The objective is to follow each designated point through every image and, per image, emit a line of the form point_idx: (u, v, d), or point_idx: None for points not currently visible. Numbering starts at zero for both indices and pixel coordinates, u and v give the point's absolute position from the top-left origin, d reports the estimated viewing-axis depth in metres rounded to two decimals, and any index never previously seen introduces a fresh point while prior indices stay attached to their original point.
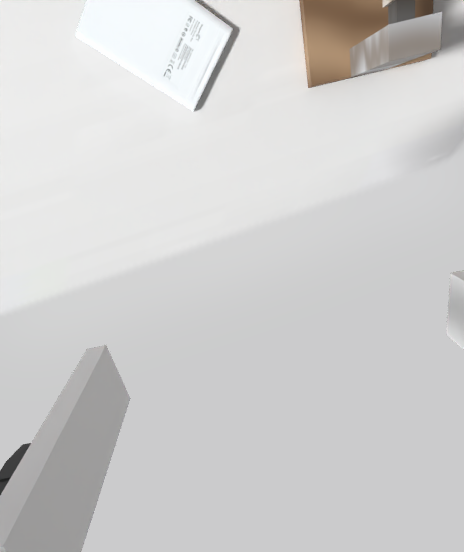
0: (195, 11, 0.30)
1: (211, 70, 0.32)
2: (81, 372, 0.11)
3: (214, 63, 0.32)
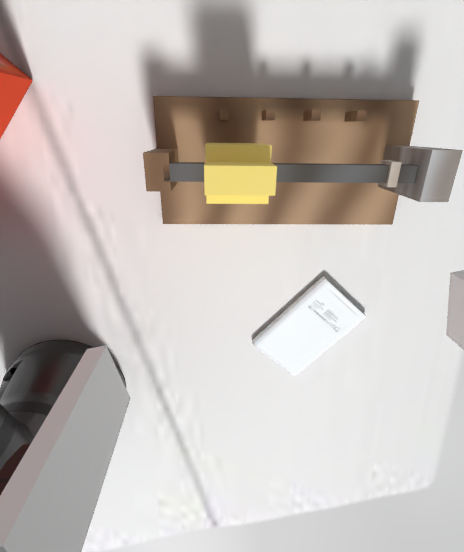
0: (306, 302, 0.40)
1: (346, 299, 0.40)
2: (81, 372, 0.11)
3: (342, 296, 0.40)
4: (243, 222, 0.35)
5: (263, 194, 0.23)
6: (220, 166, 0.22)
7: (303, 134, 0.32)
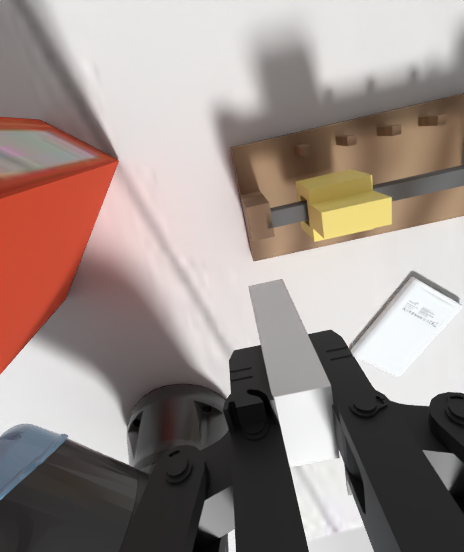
0: (400, 305, 0.40)
1: (440, 294, 0.39)
2: (259, 299, 0.13)
3: (436, 291, 0.39)
4: (330, 243, 0.36)
5: (380, 225, 0.24)
6: (337, 209, 0.23)
7: (379, 147, 0.32)
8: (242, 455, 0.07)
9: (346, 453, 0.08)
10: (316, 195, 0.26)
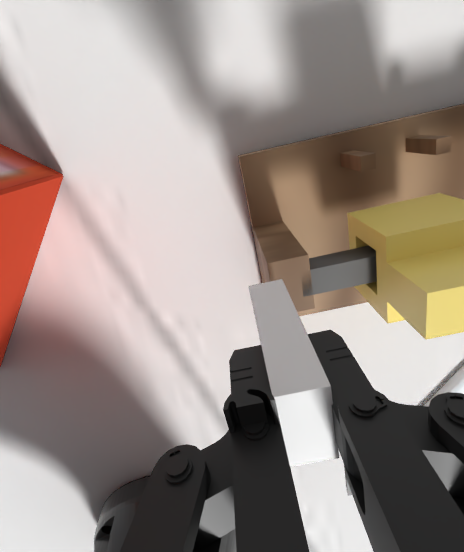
0: None
1: None
2: (260, 299, 0.13)
3: None
4: None
5: None
6: (458, 287, 0.11)
7: None
8: (242, 455, 0.07)
9: (346, 453, 0.08)
10: (399, 247, 0.14)
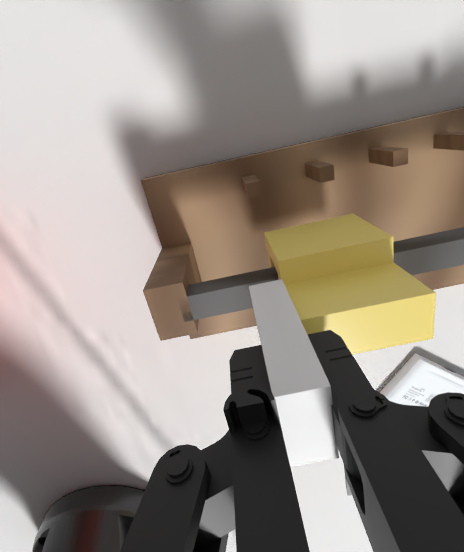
0: (400, 392, 0.29)
1: (455, 377, 0.28)
2: (260, 299, 0.13)
3: (449, 374, 0.28)
4: None
5: (411, 341, 0.12)
6: (328, 315, 0.12)
7: (372, 180, 0.21)
8: (243, 455, 0.07)
9: (345, 453, 0.08)
10: (293, 271, 0.14)
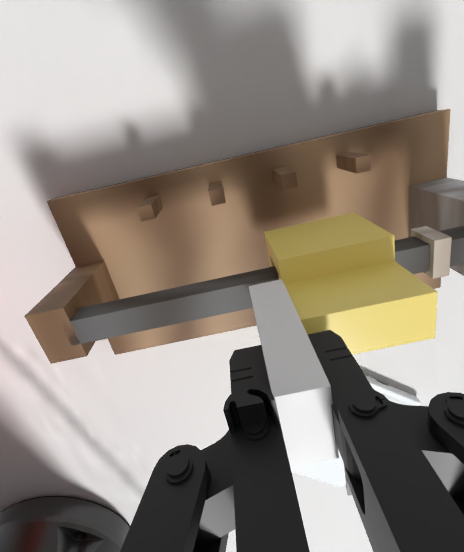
0: None
1: (386, 390, 0.28)
2: (260, 299, 0.13)
3: (379, 388, 0.28)
4: (223, 330, 0.25)
5: (412, 340, 0.12)
6: (328, 315, 0.12)
7: (279, 199, 0.21)
8: (242, 455, 0.07)
9: (346, 453, 0.08)
10: (293, 270, 0.14)
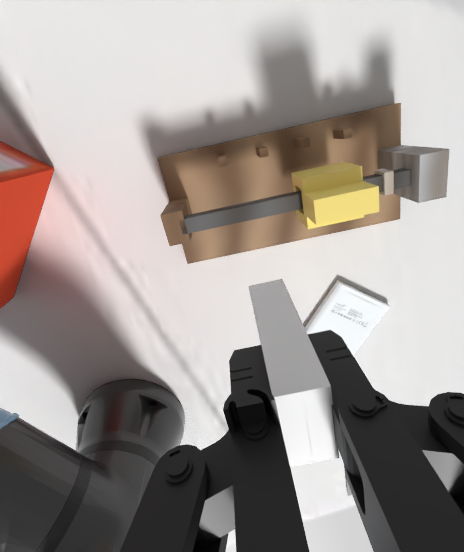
0: (328, 308, 0.42)
1: (365, 295, 0.42)
2: (260, 299, 0.13)
3: (361, 294, 0.41)
4: (259, 247, 0.38)
5: (368, 213, 0.26)
6: (328, 197, 0.25)
7: (298, 158, 0.34)
8: (242, 455, 0.07)
9: (346, 453, 0.08)
10: (309, 185, 0.27)
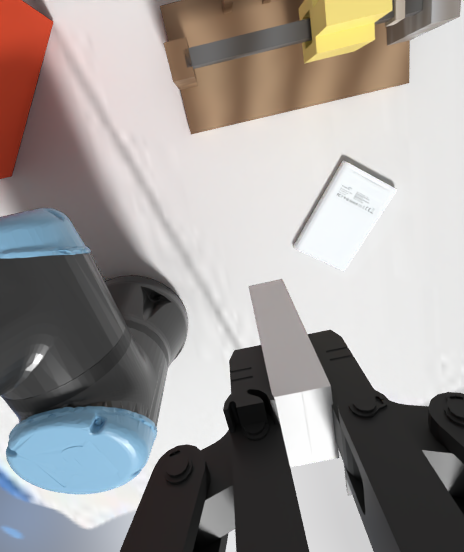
0: (334, 191, 0.41)
1: (371, 176, 0.41)
2: (259, 299, 0.13)
3: (367, 174, 0.40)
4: (264, 115, 0.37)
5: (381, 11, 0.25)
6: None
7: None
8: (242, 455, 0.07)
9: (346, 453, 0.08)
10: None
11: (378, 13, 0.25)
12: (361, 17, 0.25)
